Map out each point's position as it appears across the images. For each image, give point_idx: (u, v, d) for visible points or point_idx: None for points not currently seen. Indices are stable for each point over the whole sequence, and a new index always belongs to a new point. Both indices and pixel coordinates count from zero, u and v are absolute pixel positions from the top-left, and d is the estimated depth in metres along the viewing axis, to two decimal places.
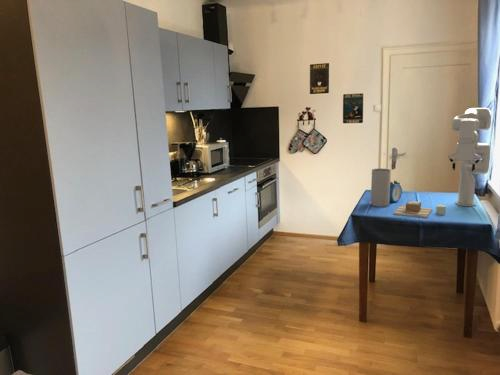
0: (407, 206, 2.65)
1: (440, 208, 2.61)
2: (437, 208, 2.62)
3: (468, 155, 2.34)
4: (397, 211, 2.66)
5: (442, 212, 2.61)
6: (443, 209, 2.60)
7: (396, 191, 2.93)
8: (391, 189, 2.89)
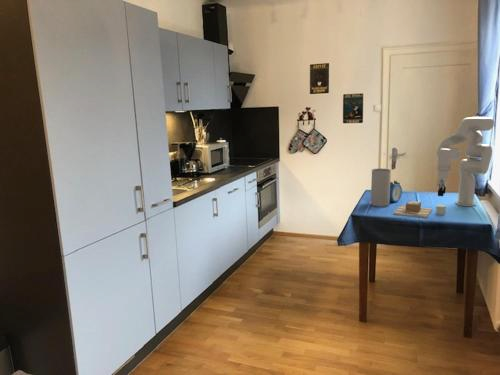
0: (407, 206, 2.65)
1: (440, 208, 2.61)
2: (437, 208, 2.62)
3: None
4: (397, 211, 2.66)
5: (442, 212, 2.61)
6: (443, 209, 2.60)
7: (396, 191, 2.93)
8: (391, 189, 2.89)
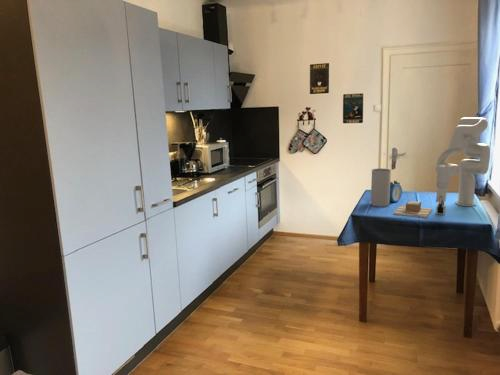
0: (407, 206, 2.65)
1: None
2: (437, 208, 2.62)
3: None
4: (397, 211, 2.66)
5: None
6: (443, 209, 2.60)
7: (396, 191, 2.93)
8: (391, 189, 2.89)
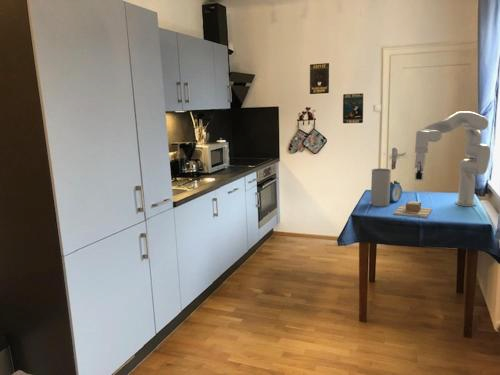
0: (407, 206, 2.65)
1: None
2: None
3: None
4: (397, 211, 2.66)
5: None
6: (422, 175, 2.59)
7: (396, 191, 2.93)
8: (391, 189, 2.89)
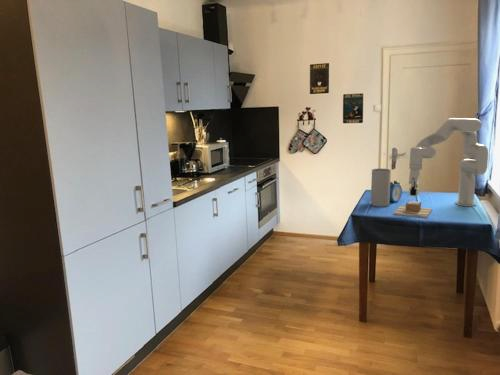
0: (407, 206, 2.65)
1: None
2: (410, 190, 2.63)
3: None
4: (397, 211, 2.66)
5: None
6: (416, 191, 2.62)
7: (396, 191, 2.93)
8: (391, 189, 2.89)
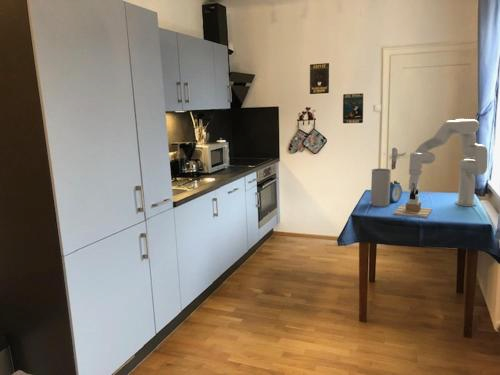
0: (407, 206, 2.65)
1: None
2: None
3: None
4: (397, 211, 2.66)
5: (415, 201, 2.63)
6: (416, 198, 2.63)
7: (396, 191, 2.93)
8: (391, 189, 2.89)
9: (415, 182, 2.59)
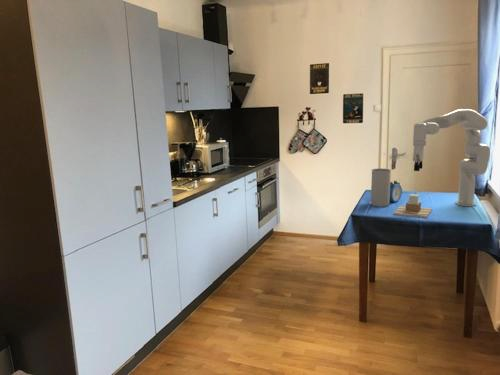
0: (407, 206, 2.65)
1: (413, 197, 2.64)
2: (410, 197, 2.65)
3: None
4: (397, 211, 2.66)
5: (415, 201, 2.63)
6: (416, 198, 2.63)
7: (396, 191, 2.93)
8: (391, 189, 2.89)
9: (419, 153, 2.55)
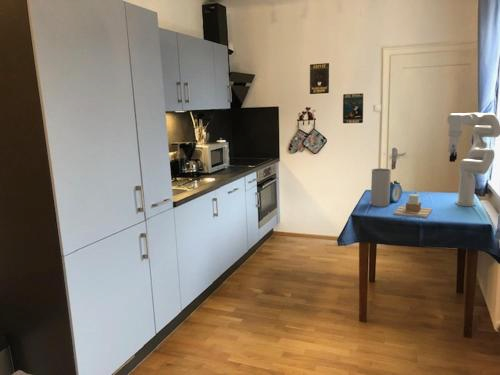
0: (407, 206, 2.65)
1: (413, 197, 2.64)
2: (410, 197, 2.65)
3: None
4: (397, 211, 2.66)
5: (415, 201, 2.63)
6: (416, 198, 2.63)
7: (396, 191, 2.93)
8: (391, 189, 2.89)
9: (455, 144, 2.55)
